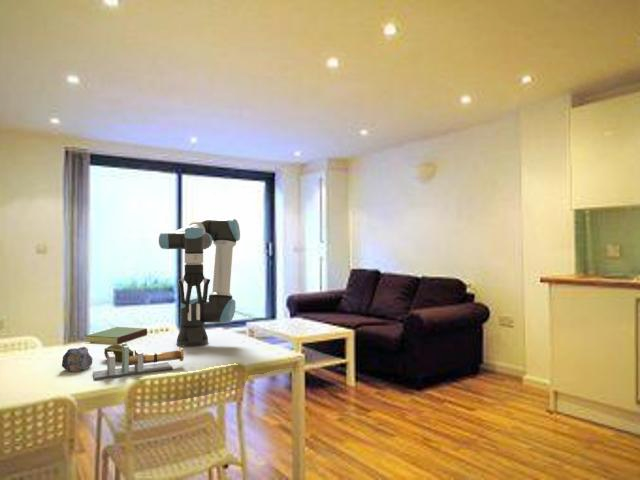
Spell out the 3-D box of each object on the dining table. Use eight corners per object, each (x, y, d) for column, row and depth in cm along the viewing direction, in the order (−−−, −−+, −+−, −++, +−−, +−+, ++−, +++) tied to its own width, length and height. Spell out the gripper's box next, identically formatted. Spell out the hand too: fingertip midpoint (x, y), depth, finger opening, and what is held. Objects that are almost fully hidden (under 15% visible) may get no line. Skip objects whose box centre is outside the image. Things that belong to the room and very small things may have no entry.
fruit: (104, 365, 189) (104, 349, 189) (103, 358, 200) (103, 343, 200) (134, 362, 194) (134, 346, 194) (132, 355, 205) (132, 341, 205)
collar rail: (92, 374, 176) (93, 345, 177) (167, 364, 190) (167, 338, 190) (94, 380, 169) (94, 350, 169) (172, 370, 183) (172, 342, 183)
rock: (67, 359, 189) (76, 339, 187) (90, 370, 189) (99, 350, 187) (51, 371, 178) (61, 351, 176) (76, 383, 179) (85, 363, 177)
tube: (127, 366, 181) (127, 352, 181) (180, 359, 191) (180, 347, 191) (128, 369, 176) (128, 355, 176) (183, 362, 187) (183, 349, 187)
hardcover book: (118, 345, 228) (118, 337, 228) (85, 342, 232) (85, 335, 232) (147, 335, 252) (147, 328, 252) (118, 333, 256) (118, 326, 256)
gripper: (176, 264, 184) (176, 323, 184) (215, 263, 192) (215, 319, 192) (172, 263, 191) (172, 320, 191) (210, 263, 199) (210, 317, 199)
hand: (193, 319), depth 191 cm, fingers open, 3 cm apart
